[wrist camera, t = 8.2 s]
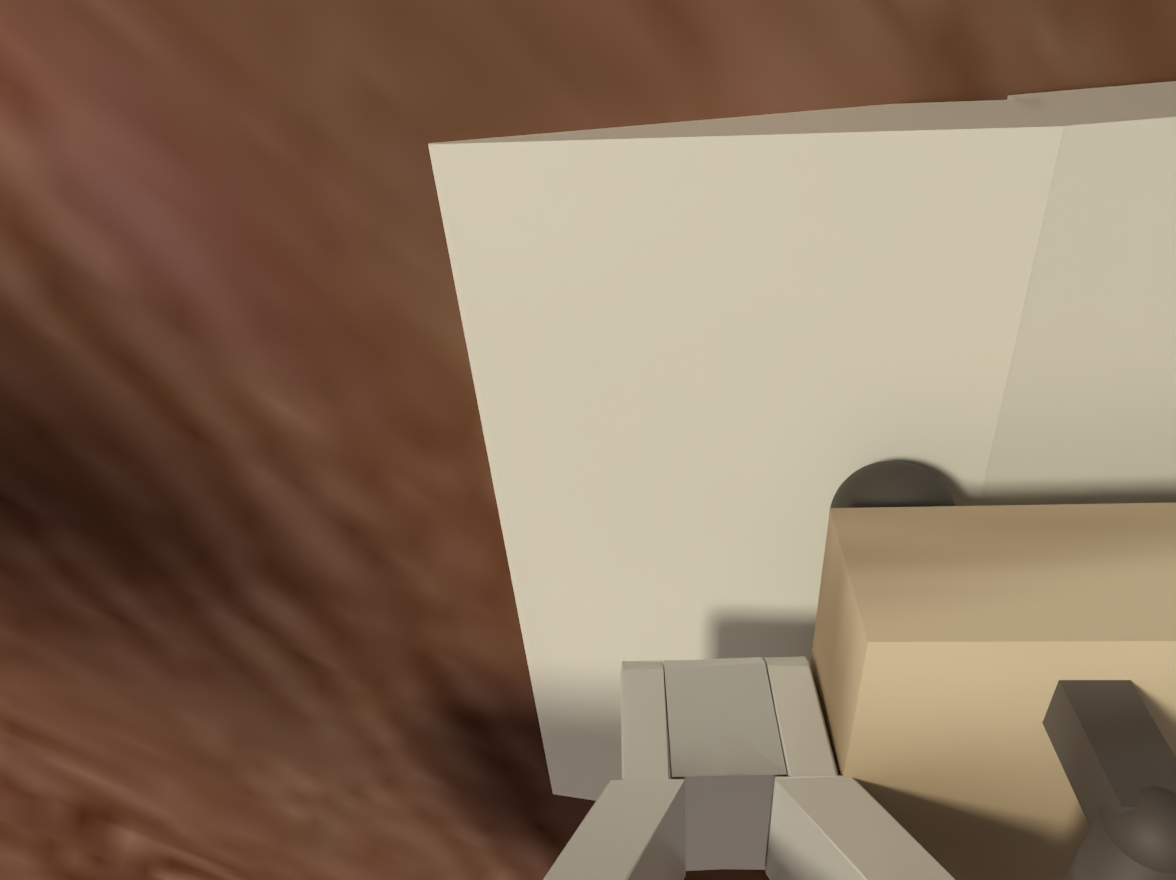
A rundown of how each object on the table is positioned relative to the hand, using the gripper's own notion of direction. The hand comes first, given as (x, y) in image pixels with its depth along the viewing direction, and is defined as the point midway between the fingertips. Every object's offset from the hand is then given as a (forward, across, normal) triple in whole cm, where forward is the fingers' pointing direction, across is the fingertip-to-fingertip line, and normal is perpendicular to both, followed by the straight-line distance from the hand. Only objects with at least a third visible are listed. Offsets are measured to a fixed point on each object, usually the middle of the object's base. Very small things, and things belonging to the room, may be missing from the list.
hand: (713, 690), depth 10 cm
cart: (+1, -6, 0) cm, 6 cm away
